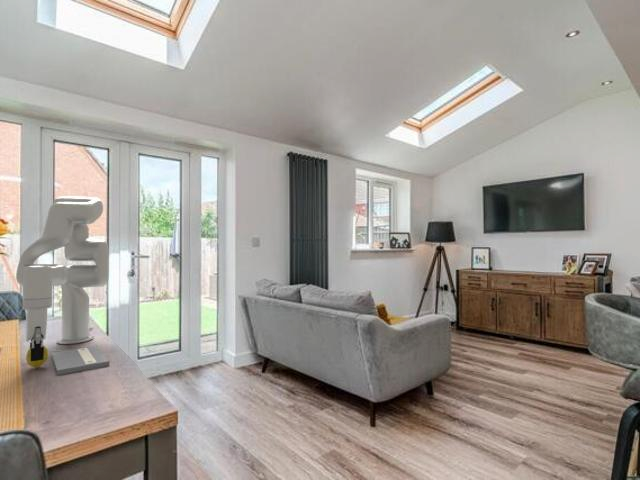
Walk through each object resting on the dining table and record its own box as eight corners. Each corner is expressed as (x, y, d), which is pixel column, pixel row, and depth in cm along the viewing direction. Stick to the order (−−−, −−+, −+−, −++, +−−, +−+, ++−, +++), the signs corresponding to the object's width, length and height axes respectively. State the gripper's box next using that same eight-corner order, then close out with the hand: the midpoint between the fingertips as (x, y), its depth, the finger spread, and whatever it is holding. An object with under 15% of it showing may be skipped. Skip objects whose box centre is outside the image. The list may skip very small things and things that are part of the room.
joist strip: (77, 349, 134) (77, 349, 134) (86, 348, 136) (86, 347, 136) (85, 364, 117) (85, 363, 117) (96, 362, 119) (96, 361, 119)
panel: (51, 356, 130) (51, 352, 130) (97, 349, 139) (97, 345, 139) (57, 375, 111) (57, 370, 111) (109, 365, 120) (109, 361, 120)
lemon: (51, 366, 119) (51, 342, 119) (32, 372, 114) (32, 346, 114) (41, 364, 121) (41, 340, 122) (22, 369, 116) (22, 344, 117)
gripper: (22, 302, 122) (21, 353, 122) (22, 307, 109) (21, 365, 108) (50, 300, 127) (49, 349, 126) (53, 305, 114) (52, 360, 113)
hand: (36, 357), depth 117 cm, fingers open, 9 cm apart
